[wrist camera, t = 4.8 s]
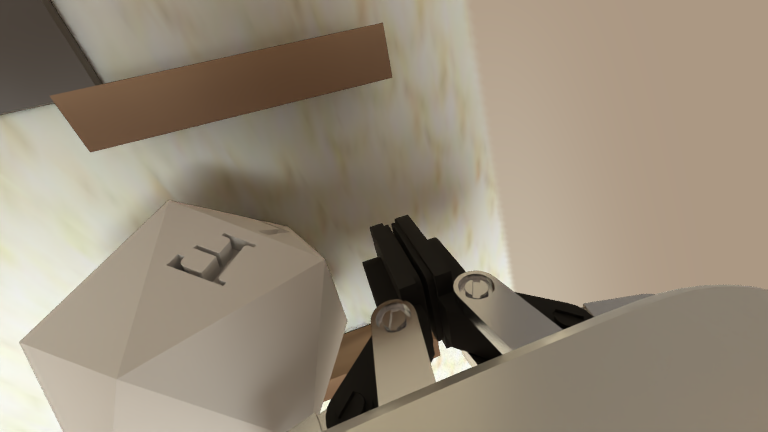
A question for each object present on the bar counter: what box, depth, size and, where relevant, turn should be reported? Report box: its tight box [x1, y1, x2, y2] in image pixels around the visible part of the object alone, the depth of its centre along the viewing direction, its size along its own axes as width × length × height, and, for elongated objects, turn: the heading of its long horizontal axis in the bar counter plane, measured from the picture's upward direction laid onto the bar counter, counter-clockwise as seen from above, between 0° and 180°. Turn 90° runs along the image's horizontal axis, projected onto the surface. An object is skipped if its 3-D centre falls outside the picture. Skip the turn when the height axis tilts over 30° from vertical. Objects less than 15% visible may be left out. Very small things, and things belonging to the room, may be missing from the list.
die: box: [19, 200, 347, 432], centre depth 10 cm, size 8×9×10 cm
